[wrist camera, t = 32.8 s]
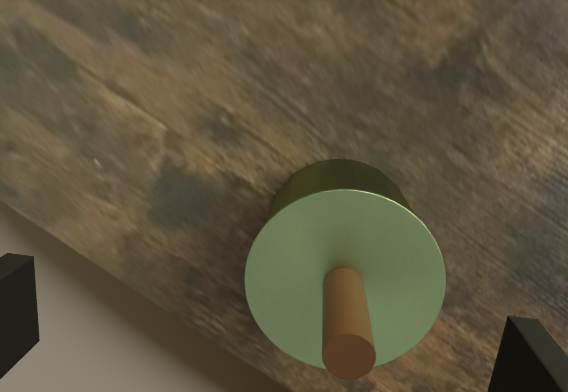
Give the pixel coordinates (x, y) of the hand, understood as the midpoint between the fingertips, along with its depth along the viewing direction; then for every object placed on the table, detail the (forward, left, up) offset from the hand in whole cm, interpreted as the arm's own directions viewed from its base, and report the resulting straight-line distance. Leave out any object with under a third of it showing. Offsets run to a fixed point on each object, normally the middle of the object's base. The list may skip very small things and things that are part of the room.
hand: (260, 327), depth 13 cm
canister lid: (+9, -5, -22) cm, 25 cm away
